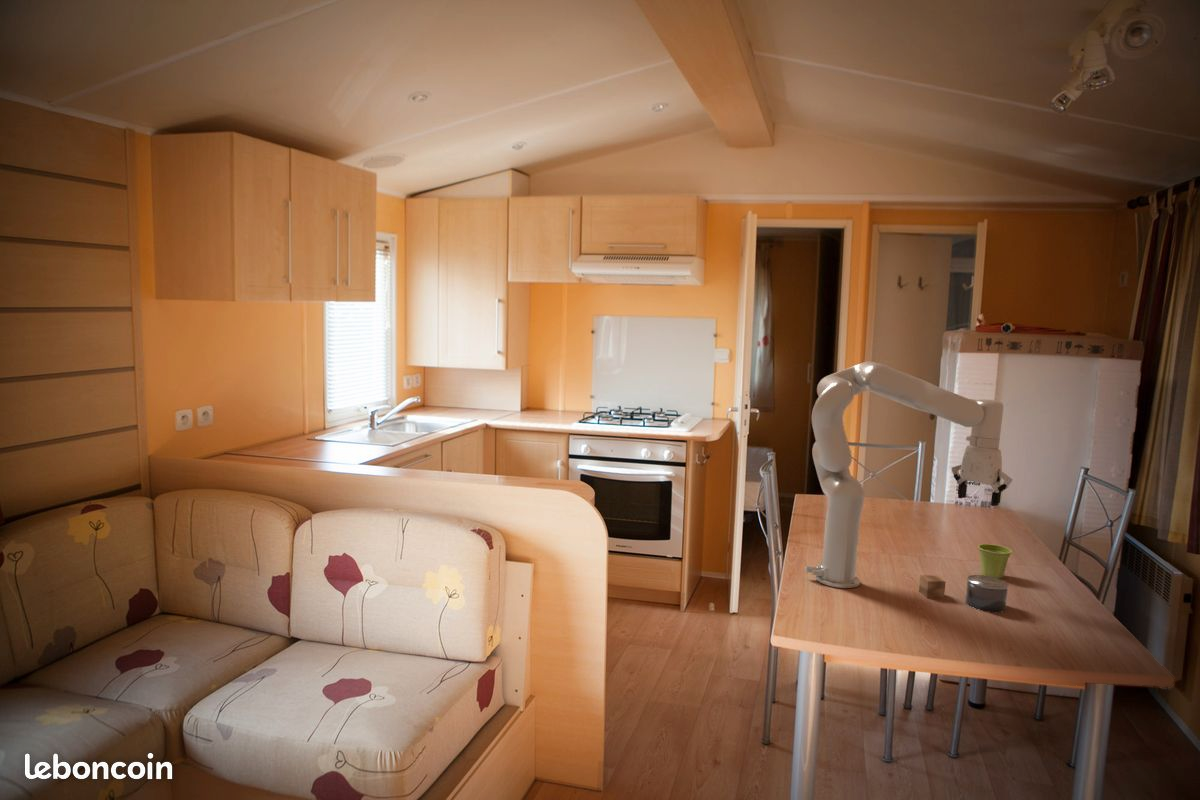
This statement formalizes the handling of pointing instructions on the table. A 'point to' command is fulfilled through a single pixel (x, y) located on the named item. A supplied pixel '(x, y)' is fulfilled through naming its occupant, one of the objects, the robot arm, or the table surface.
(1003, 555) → the plant pot
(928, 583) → the walnut block
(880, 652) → the table surface
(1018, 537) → the table surface
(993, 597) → the black tin
